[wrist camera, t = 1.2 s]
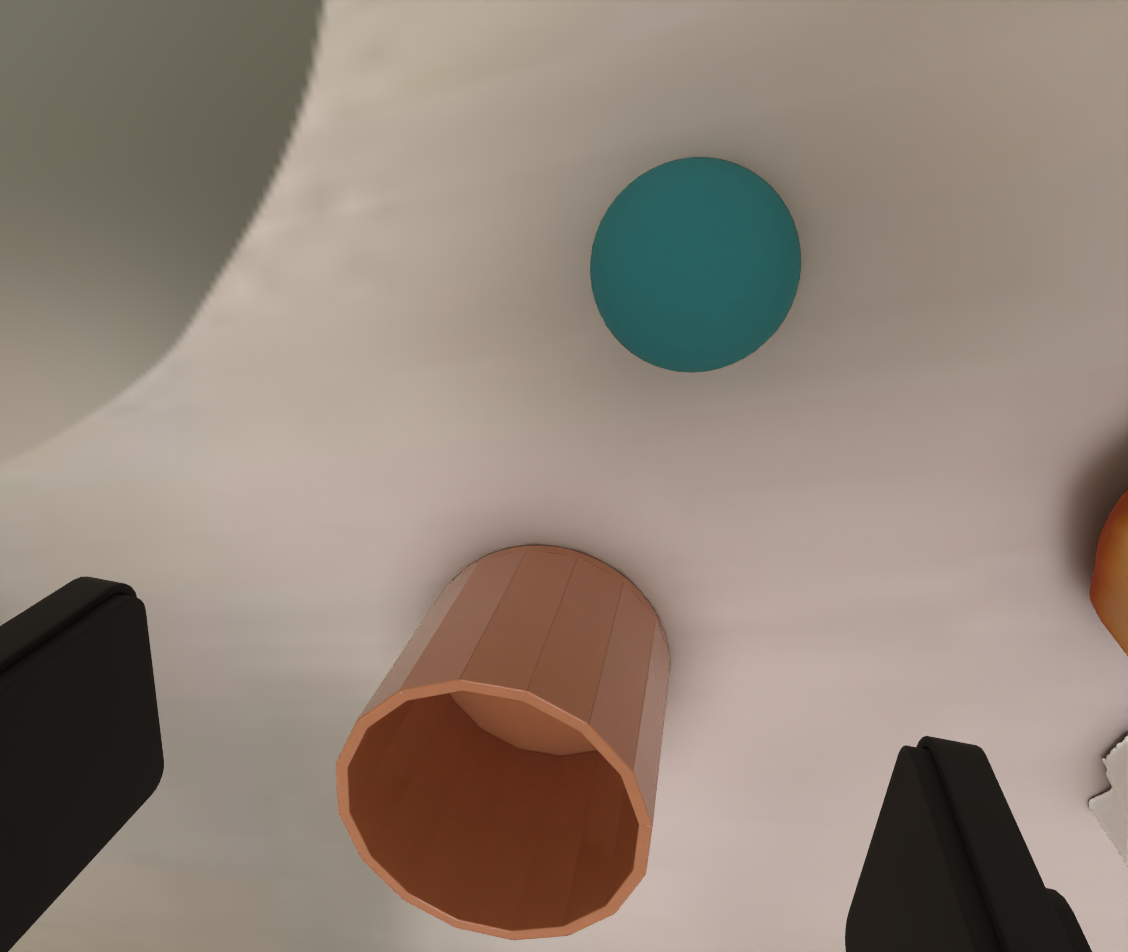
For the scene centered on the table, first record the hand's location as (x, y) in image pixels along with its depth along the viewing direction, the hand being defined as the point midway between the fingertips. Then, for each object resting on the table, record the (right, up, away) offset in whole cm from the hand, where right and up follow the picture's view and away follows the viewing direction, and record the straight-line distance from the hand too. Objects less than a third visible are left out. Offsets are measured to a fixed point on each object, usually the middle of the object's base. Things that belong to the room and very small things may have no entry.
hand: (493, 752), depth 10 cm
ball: (+5, +9, +13) cm, 17 cm away
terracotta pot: (0, -4, +23) cm, 23 cm away
